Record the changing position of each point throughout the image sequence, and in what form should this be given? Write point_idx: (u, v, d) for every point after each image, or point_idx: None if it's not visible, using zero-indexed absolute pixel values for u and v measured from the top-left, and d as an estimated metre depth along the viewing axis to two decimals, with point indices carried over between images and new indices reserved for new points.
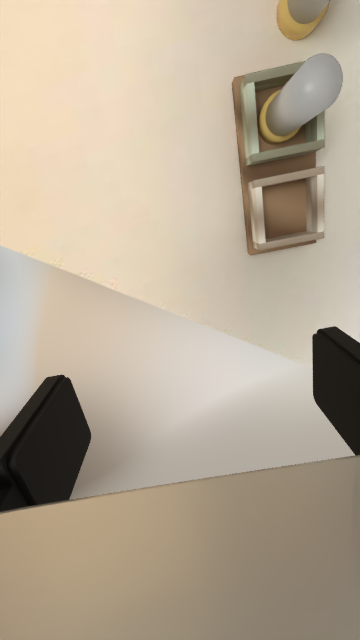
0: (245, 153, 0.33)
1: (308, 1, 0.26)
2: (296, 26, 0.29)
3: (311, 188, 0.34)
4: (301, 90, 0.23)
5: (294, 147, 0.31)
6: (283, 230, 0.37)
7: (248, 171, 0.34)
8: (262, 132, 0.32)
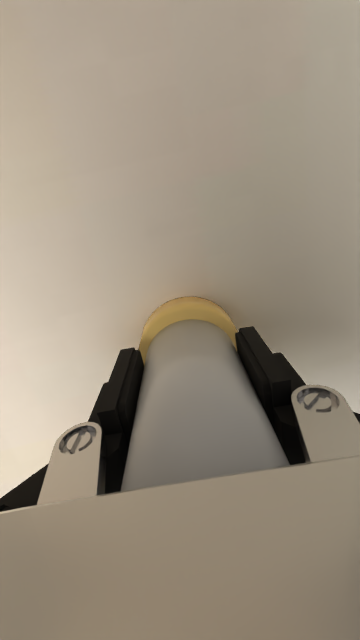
0: None
1: None
2: None
3: None
4: None
5: None
6: None
7: None
8: None
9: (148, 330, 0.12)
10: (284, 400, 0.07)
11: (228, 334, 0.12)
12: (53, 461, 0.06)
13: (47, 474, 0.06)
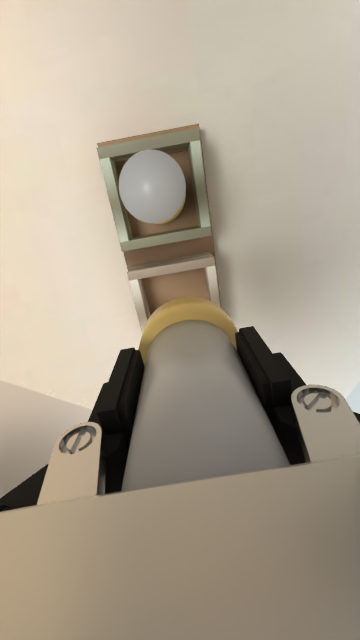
0: None
1: None
2: None
3: (206, 276, 0.27)
4: (129, 196, 0.17)
5: (173, 235, 0.24)
6: None
7: (130, 253, 0.28)
8: None
9: (148, 330, 0.12)
10: (284, 400, 0.07)
11: (228, 334, 0.12)
12: (53, 461, 0.06)
13: (47, 474, 0.06)
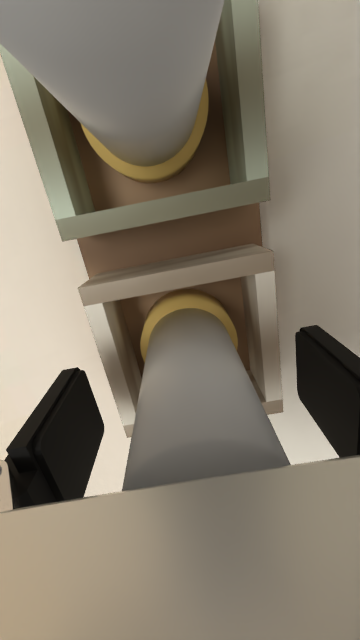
0: None
1: None
2: None
3: (248, 293, 0.13)
4: None
5: (179, 201, 0.10)
6: None
7: (93, 247, 0.14)
8: None
9: (150, 318, 0.13)
10: None
11: (222, 321, 0.13)
12: None
13: None
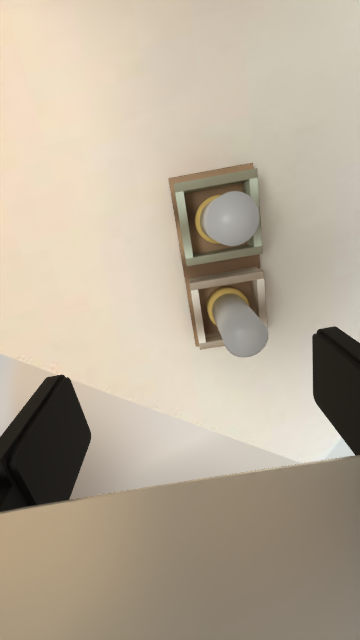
0: (184, 250, 0.31)
1: None
2: None
3: (253, 287, 0.32)
4: (215, 225, 0.21)
5: (230, 253, 0.29)
6: None
7: (188, 267, 0.33)
8: None
9: (213, 297, 0.32)
10: None
11: (243, 298, 0.32)
12: None
13: None
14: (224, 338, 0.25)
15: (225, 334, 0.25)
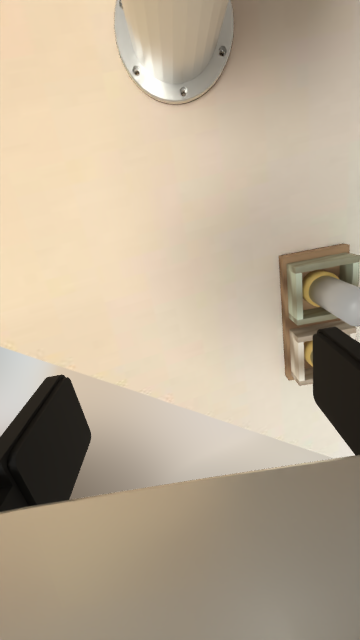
0: (289, 310, 0.40)
1: None
2: None
3: None
4: (347, 313, 0.30)
5: (332, 315, 0.37)
6: None
7: (290, 321, 0.41)
8: (304, 298, 0.38)
9: (312, 346, 0.40)
10: None
11: None
12: None
13: None
14: None
15: None
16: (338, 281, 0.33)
